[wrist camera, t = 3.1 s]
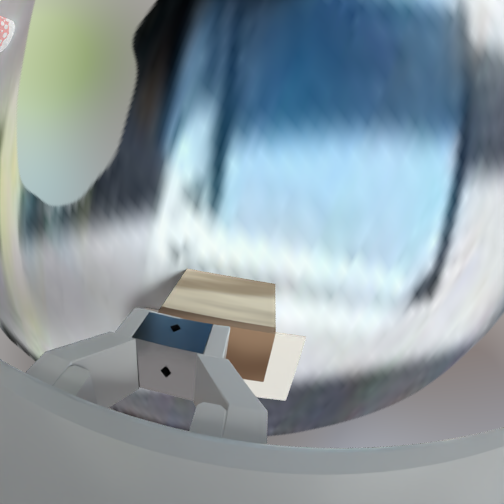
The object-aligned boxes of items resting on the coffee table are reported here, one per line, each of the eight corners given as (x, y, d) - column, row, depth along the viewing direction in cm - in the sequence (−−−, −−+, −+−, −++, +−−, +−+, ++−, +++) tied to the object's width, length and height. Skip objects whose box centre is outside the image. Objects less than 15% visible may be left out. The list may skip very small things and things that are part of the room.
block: (187, 268, 27) (158, 311, 20) (275, 283, 27) (275, 333, 20) (184, 310, 29) (158, 361, 21) (266, 325, 29) (263, 382, 21)
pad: (145, 307, 29) (144, 308, 29) (305, 336, 29) (306, 338, 29) (147, 372, 32) (147, 374, 32) (285, 398, 32) (285, 400, 31)
